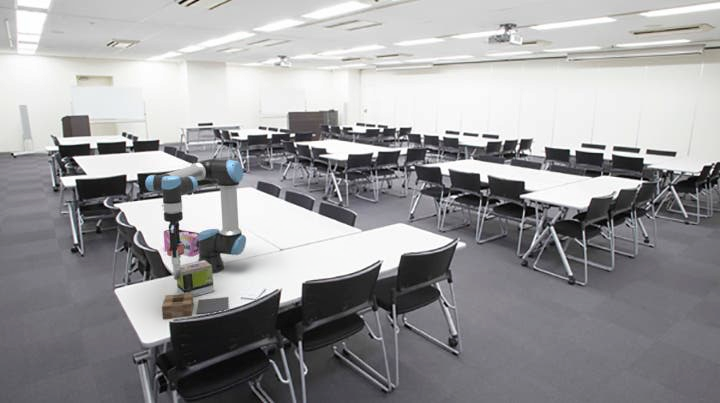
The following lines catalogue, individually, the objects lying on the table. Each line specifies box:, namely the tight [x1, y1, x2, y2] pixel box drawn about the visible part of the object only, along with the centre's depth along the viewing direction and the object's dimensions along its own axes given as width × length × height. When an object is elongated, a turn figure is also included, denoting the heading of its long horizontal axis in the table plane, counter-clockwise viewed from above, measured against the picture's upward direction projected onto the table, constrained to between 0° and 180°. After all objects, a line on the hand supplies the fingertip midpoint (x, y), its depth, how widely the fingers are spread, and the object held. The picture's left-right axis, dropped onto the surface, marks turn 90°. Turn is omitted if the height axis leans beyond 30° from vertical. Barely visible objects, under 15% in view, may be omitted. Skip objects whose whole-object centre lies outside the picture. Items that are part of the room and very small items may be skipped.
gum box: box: [163, 229, 200, 257], centre depth 271 cm, size 24×8×14 cm, turn 68°
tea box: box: [176, 260, 215, 298], centre depth 215 cm, size 15×10×15 cm
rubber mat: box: [195, 296, 230, 316], centre depth 202 cm, size 14×14×1 cm
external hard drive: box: [240, 286, 267, 301], centre depth 216 cm, size 2×8×12 cm
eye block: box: [161, 293, 195, 320], centre depth 195 cm, size 12×12×6 cm
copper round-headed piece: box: [166, 245, 184, 281], centre depth 191 cm, size 7×7×15 cm
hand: (176, 260), depth 191 cm, fingers closed on copper round-headed piece, 7 cm apart
